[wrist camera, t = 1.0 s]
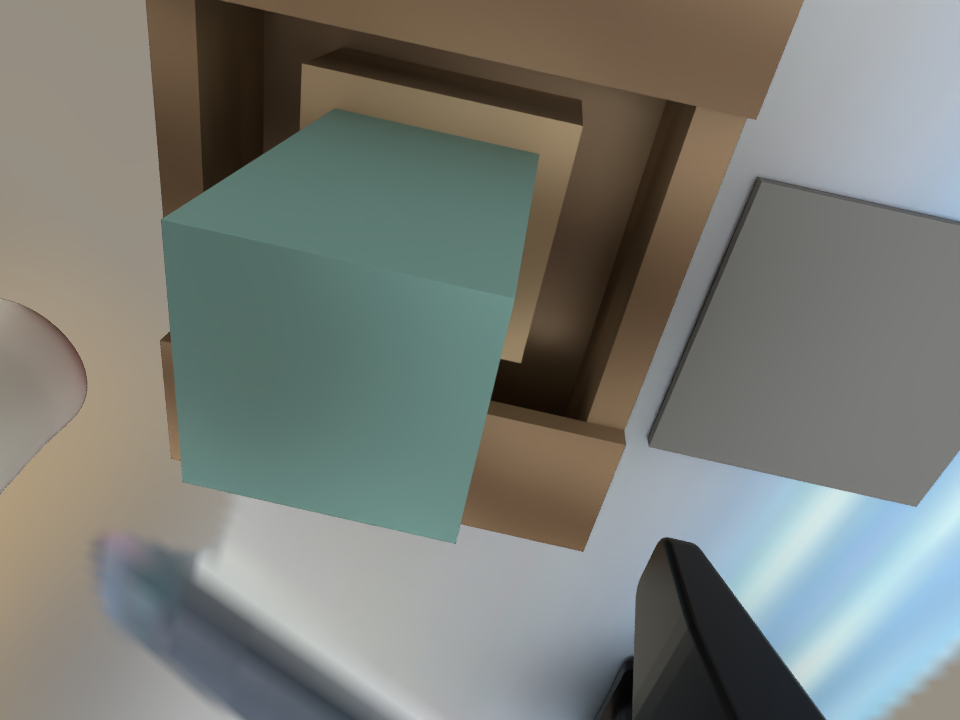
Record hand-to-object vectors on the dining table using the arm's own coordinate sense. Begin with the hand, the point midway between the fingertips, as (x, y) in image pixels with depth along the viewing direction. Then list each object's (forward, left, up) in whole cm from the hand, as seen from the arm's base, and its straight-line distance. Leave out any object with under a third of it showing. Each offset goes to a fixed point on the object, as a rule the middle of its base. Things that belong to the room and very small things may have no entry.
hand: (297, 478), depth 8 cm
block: (0, 0, -8) cm, 9 cm away
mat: (-2, -12, -12) cm, 17 cm away
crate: (0, 0, -12) cm, 12 cm away
